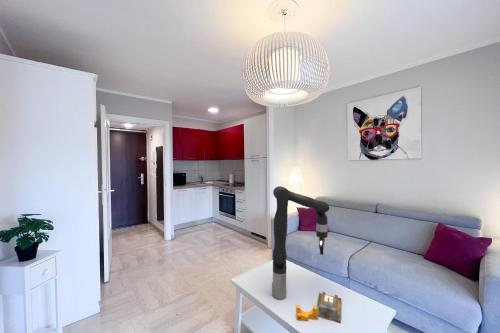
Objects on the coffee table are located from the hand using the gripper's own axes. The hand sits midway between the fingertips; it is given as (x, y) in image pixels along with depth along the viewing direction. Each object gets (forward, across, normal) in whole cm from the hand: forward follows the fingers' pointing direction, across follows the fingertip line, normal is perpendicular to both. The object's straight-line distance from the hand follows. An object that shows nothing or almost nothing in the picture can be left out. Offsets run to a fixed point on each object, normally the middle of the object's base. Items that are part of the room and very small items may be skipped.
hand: (321, 254), depth 150 cm
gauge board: (+27, +15, +6) cm, 31 cm away
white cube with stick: (+26, +18, +6) cm, 32 cm away
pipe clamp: (+27, +30, -5) cm, 41 cm away
